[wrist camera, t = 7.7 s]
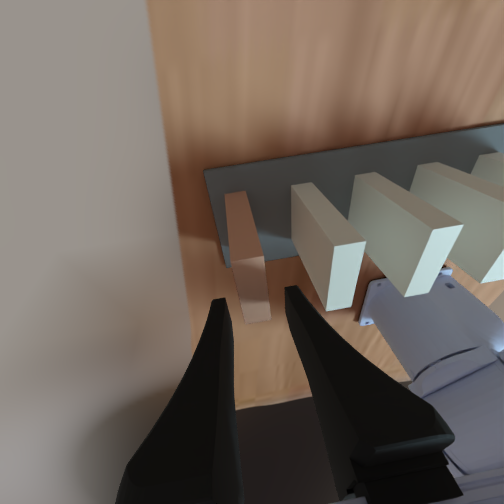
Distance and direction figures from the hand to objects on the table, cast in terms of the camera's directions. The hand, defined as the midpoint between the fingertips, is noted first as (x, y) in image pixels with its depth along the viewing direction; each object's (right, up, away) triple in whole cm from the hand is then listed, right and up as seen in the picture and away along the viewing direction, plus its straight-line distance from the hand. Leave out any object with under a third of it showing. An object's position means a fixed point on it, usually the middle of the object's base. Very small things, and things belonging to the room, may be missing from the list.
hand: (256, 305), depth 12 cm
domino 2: (+9, +7, +7) cm, 13 cm away
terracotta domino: (-1, +5, +7) cm, 9 cm away
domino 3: (+14, +8, +7) cm, 17 cm away
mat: (+10, +7, +8) cm, 15 cm away
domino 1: (+4, +6, +7) cm, 10 cm away
